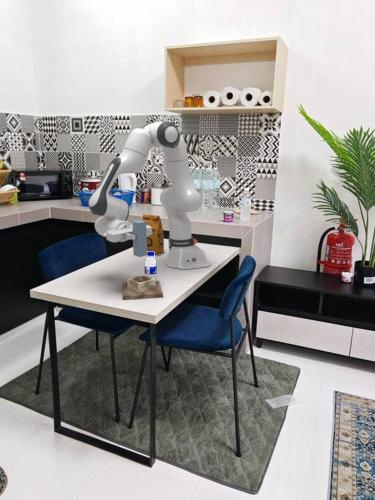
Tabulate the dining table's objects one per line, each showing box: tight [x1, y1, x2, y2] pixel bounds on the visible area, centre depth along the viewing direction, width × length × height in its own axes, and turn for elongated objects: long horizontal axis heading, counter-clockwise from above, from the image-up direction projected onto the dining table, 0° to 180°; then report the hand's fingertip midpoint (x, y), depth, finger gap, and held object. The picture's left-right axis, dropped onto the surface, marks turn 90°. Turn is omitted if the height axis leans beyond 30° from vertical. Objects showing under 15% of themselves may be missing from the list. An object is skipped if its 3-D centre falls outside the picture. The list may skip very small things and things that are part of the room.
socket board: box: [121, 274, 164, 301], centre depth 164 cm, size 16×16×6 cm
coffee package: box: [142, 213, 165, 256], centre depth 220 cm, size 10×12×22 cm
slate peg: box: [132, 219, 148, 258], centre depth 159 cm, size 4×4×14 cm
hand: (141, 236), depth 158 cm, fingers closed on slate peg, 4 cm apart
